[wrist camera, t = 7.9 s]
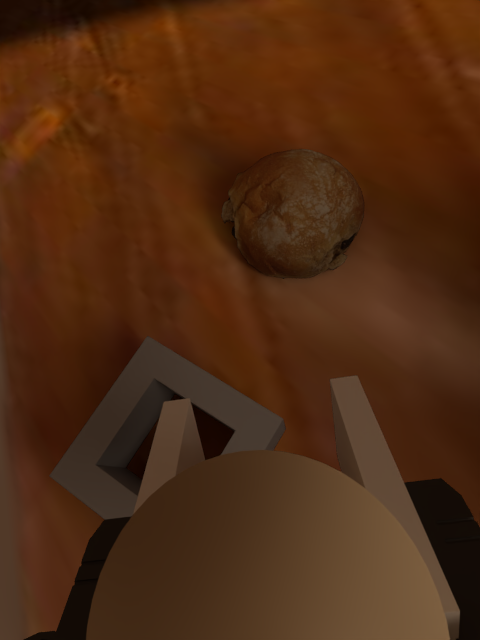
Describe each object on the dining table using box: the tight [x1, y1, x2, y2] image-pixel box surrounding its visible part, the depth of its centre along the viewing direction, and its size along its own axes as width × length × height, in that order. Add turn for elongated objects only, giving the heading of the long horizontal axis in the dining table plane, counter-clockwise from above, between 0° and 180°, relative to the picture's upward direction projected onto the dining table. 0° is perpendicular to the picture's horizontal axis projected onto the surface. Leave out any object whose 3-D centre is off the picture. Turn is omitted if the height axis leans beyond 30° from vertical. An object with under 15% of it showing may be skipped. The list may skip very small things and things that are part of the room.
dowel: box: [86, 450, 450, 640], centre depth 11 cm, size 4×4×14 cm
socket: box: [50, 336, 286, 519], centre depth 29 cm, size 10×10×5 cm
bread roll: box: [221, 149, 364, 279], centre depth 34 cm, size 10×10×8 cm
